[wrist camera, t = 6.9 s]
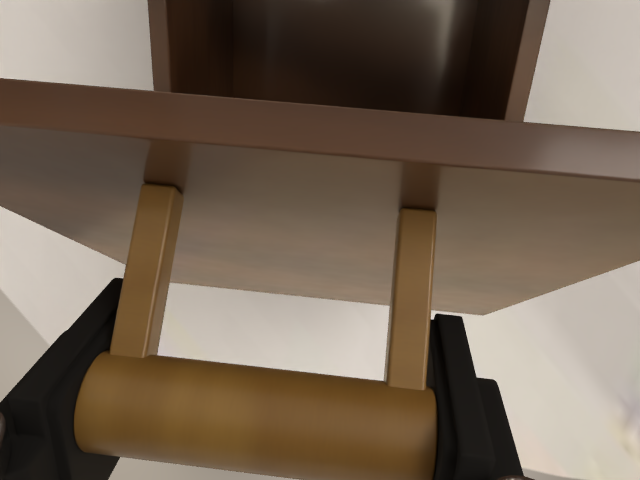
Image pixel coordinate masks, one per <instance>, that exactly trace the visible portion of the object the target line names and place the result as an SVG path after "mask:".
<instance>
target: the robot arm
mask: <svg viewBox="0 0 640 480" xmlns="http://www.w3.org/2000/svg"><path fill="white" fill-rule="evenodd" d="M122 283H123V278H114V279H113V280H112V281H111V282H110V283H109V284H108V285H107V286H106V288H105V289H104V290H103V291H102V292H101V293H100V294H99V295H98V297H97V298H96V299H95V300H94V301H93V302H92V303H91V304H90V306H89V307H88V308H87V309H86V310H85V311H84V312H83V313H82V315H81V316H80V317H79V318H78V319H77V320H76V321H75V322H74V324H73V325H72V326H71V327H70V328H69V329H68V330H67V331H65V332H64V333H63V334H61V335H60V336H59V338H58V339H57V340H56V341H55V342H54V343H53V344H52V345H51V347H50V348H49V349H48V350H47V351H46V352H45V353H44V354H43V356H42V357H41V358H40V359H39V360H38V361H37V362H36V363H35V364H34V366H33V367H32V368H31V369H30V370H29V371H28V372H27V373H26V374H25V376H24V377H23V378H22V379H21V380H20V381H19V382H18V383H17V385H16V386H15V387H14V388H13V389H12V390H11V391H10V392H9V394H8V395H7V396H6V397H5V398H4V399H3V400H2V401H1V402H0V480H108V479H109V477H110V475H111V473H112V471H113V469H114V468H115V466H116V464H117V462H118V460H119V458H120V457H118V456H110V455H102V454H94V453H86V452H83V451H82V450H81V449H80V448H79V447H78V446H77V444H76V441H75V437H74V425H73V423H74V411H75V405H76V400H77V396H78V392H79V389H80V386H81V383H82V381H83V378H84V376H85V374H86V372H87V370H88V368H89V366H90V365H91V363H92V362H93V360H94V359H95V358H96V357H97V356H98V355H99V354H100V353H102V352H104V351H107V350H110V346H111V341H112V335H113V330H114V325H115V320H116V315H117V309H118V304H119V299H120V294H121V289H122ZM426 386H430V387H431V388H433V390H434V393H435V397H436V402H437V412H438V445H437V458H436V467H435V474H434V479H433V480H534V479H531V478H528V477H525V476H524V475H523V471H522V468H521V464H520V461H519V457H518V454H517V450H516V447H515V443H514V440H513V436H512V433H511V429H510V426H509V422H508V419H507V415H506V412H505V408H504V405H503V401H502V398H501V394H500V391H499V387H498V385H497V382H496V381H495V380H492V379H484V378H476V374H475V370H474V365H473V361H472V357H471V353H470V348H469V344H468V340H467V336H466V331H465V327H464V323H463V319H462V317H461V316H453V315H444V314H436V315H435V317H434V320H431V319H430V334H429V350H428V365H427V381H426Z"/></svg>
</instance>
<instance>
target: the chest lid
mask: <svg viewBox="0 0 640 480" xmlns="http://www.w3.org/2000/svg"><path fill="white" fill-rule="evenodd" d="M0 206H1V207H4V208H6V209H8V210H10V211H12V212H14V213H16V214H18V215H21V216H23V217H25V218H27V219H29V220H31V221H33V222H36V223H38V224H40V225H42V226H44V227H46V228H48V229H50V230H53V231H55V232H57V233H59V234H61V235H63V236H65V237H68V238H70V239H72V240H74V241H76V242H78V243H80V244H82V245H85V246H87V247H89V248H91V249H93V250H95V251H97V252H100V253H102V254H104V255H106V256H108V257H110V258H112V259H114V260H117V261H119V262H121V263H123V264H125V265H126V268H125V273H124V278H123V283H122V289H121V294H120V299H119V304H118V309H117V315H116V320H115V325H114V330H113V335H112V341H111V346H110V350H107V351H104V352H102V353H100V354H99V355H98V356H97V357H96V358H95V359H94V360H93V362H92V363H91V365H90V366H89V368H88V370H87V372H86V374H85V376H84V378H83V381H82V383H81V386H80V389H79V392H78V396H77V400H76V405H75V411H74V423H73V425H74V437H75V441H76V444H77V446H78V447H79V448H80V449H81V450H82V451H83V452H86V453H94V454H102V455H110V456H118V457H126V458H134V459H142V460H149V461H157V462H165V463H173V464H181V465H190V466H197V467H205V468H213V469H221V470H228V471H236V472H244V473H252V474H260V475H269V476H276V477H284V478H293V479H300V480H433V479H434V474H435V467H436V458H437V445H438V412H437V402H436V397H435V393H434V390H433V388H431V387H430V386H426V381H427V365H428V350H429V334H430V319H431V310H436V311H445V312H455V313H464V314H474V315H486V314H489V313H492V312H495V311H498V310H500V309H503V308H506V307H509V306H512V305H515V304H517V303H520V302H523V301H526V300H529V299H532V298H534V297H537V296H540V295H543V294H546V293H549V292H552V291H554V290H557V289H560V288H563V287H566V286H569V285H571V284H574V283H577V282H580V281H583V280H586V279H589V278H591V277H594V276H597V275H600V274H603V273H606V272H608V271H611V270H614V269H617V268H620V267H623V266H625V265H628V264H631V263H634V262H637V261H640V132H636V131H624V130H613V129H601V128H589V127H577V126H565V125H553V124H541V123H529V122H517V121H505V120H493V119H481V118H469V117H457V116H445V115H433V114H421V113H410V112H398V111H386V110H374V109H362V108H350V107H338V106H326V105H314V104H302V103H290V102H278V101H266V100H254V99H242V98H230V97H219V96H207V95H195V94H183V93H171V92H159V91H147V90H135V89H123V88H111V87H99V86H87V85H75V84H63V83H51V82H39V81H27V80H16V79H4V78H0ZM170 282H171V283H180V284H190V285H199V286H209V287H218V288H227V289H237V290H246V291H256V292H265V293H275V294H284V295H294V296H303V297H313V298H322V299H332V300H341V301H351V302H360V303H370V304H379V305H388V306H390V310H389V322H388V334H387V347H386V359H385V371H384V381H378V380H369V379H360V378H352V377H343V376H334V375H325V374H317V373H308V372H299V371H290V370H282V369H273V368H264V367H255V366H247V365H238V364H229V363H220V362H211V361H203V360H194V359H185V358H176V357H168V356H159V355H157V352H158V346H159V340H160V335H161V329H162V323H163V317H164V311H165V306H166V300H167V294H168V288H169V283H170Z"/></svg>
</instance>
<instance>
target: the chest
mask: <svg viewBox="0 0 640 480" xmlns="http://www.w3.org/2000/svg"><path fill="white" fill-rule="evenodd" d="M549 5H550V0H148V12H149V27H150V42H151V56H152V71H153V86H154V91H159V92H171V93H183V94H195V95H207V96H219V97H230V98H242V99H254V100H266V101H278V102H290V103H302V104H314V105H326V106H338V107H350V108H362V109H374V110H386V111H398V112H410V113H421V114H433V115H445V116H457V117H469V118H481V119H493V120H505V121H517V122H523V120H524V116H525V111H526V107H527V102H528V98H529V93H530V89H531V85H532V80H533V76H534V71H535V67H536V62H537V58H538V54H539V49H540V45H541V40H542V36H543V31H544V27H545V22H546V18H547V14H548V9H549Z"/></svg>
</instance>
